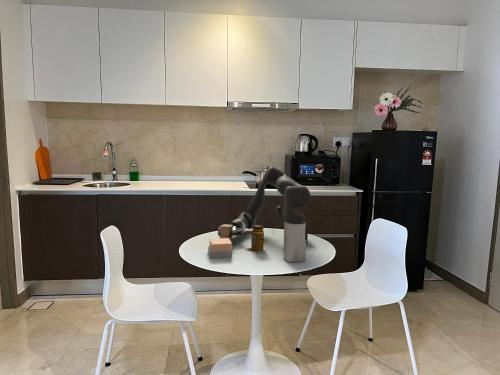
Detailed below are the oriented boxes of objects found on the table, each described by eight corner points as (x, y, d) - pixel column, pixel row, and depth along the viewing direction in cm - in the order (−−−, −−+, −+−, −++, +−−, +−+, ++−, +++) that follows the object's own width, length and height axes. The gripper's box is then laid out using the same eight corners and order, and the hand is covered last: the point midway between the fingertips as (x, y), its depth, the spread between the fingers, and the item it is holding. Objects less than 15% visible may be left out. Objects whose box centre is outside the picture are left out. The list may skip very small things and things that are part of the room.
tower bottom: (228, 251, 183) (229, 244, 183) (232, 258, 174) (232, 251, 173) (208, 252, 181) (208, 245, 181) (210, 259, 172) (210, 252, 171)
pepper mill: (301, 237, 210) (302, 204, 207) (308, 242, 199) (309, 209, 196) (274, 237, 207) (275, 205, 205) (278, 243, 196) (280, 209, 194)
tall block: (223, 243, 195) (223, 224, 194) (232, 244, 194) (232, 225, 192) (219, 245, 191) (219, 226, 189) (229, 247, 189) (229, 227, 188)
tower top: (228, 245, 182) (228, 238, 181) (231, 250, 173) (231, 243, 173) (209, 246, 180) (209, 238, 179) (212, 252, 171) (212, 244, 171)
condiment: (267, 250, 184) (267, 226, 183) (252, 253, 180) (253, 228, 178) (258, 246, 191) (259, 223, 189) (244, 249, 186) (244, 225, 184)
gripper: (224, 218, 207) (211, 225, 191) (249, 221, 202) (238, 228, 186) (224, 232, 208) (211, 240, 192) (249, 235, 203) (237, 243, 187)
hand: (224, 234), depth 189 cm, fingers closed on tall block, 5 cm apart
